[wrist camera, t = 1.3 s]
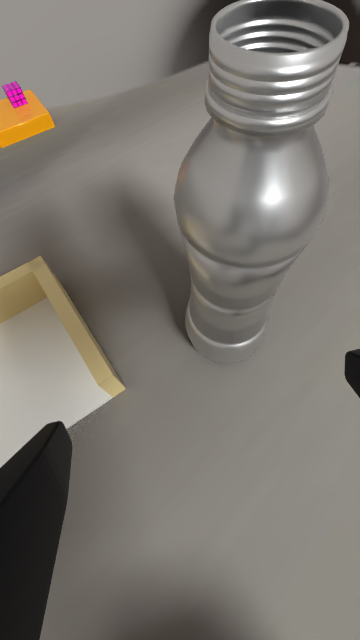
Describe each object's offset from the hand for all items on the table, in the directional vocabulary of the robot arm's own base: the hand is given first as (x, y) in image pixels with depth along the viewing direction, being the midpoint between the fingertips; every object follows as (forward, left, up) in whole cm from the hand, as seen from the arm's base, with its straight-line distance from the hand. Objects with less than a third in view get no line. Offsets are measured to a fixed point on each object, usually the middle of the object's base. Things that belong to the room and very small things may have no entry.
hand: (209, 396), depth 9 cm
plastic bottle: (0, -9, -15) cm, 17 cm away
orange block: (+35, -35, -15) cm, 52 cm away
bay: (+16, -1, -14) cm, 21 cm away
